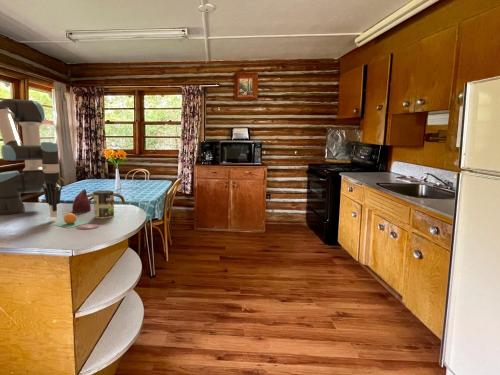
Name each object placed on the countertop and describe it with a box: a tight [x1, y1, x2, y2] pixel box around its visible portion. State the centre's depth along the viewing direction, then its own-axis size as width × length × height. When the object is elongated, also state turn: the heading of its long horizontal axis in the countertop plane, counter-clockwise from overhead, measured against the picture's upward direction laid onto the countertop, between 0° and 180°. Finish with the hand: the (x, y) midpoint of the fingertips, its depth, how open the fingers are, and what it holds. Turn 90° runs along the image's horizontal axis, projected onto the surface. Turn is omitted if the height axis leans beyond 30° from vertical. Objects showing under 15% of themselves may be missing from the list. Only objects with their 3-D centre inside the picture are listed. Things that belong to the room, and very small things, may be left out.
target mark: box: [52, 219, 90, 229], centre depth 169 cm, size 12×12×1 cm
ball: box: [63, 212, 77, 224], centre depth 169 cm, size 6×6×6 cm
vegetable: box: [71, 188, 92, 213], centre depth 200 cm, size 10×10×15 cm
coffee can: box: [92, 190, 115, 220], centre depth 186 cm, size 10×10×14 cm
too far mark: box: [76, 223, 100, 231], centre depth 164 cm, size 10×10×1 cm
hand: (53, 217), depth 175 cm, fingers closed
